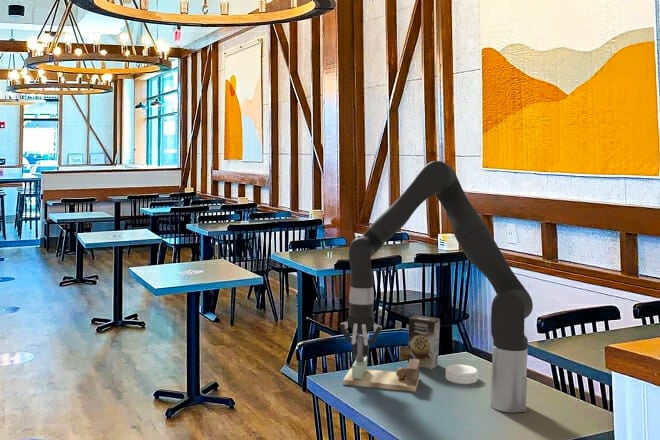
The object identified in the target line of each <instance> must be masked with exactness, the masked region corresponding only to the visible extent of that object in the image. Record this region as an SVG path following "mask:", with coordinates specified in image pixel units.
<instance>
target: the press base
mask: <svg viewBox="0 0 660 440" xmlns="http://www.w3.org/2000/svg"><path fill="white" fill-rule="evenodd" d="M419 380H420V367H419V359H410V360H409V363H408V362H407V366H406V367H405V366H404V367H403V366H401V367H397V369H396V371H388V370H377V369H368V368H367V370H366V372H365V374H364V376H363V378H362V379H355V378H352V367H350V368H349V370H348V371H347V372H346V374H345V376H344V378H343V379H342V385H345V386H353V387H354V386H355V387H362V388H363V387H364V388H374V389H386V390H393V391H405V392H415V393H416V391H417V387H418V384H419Z"/></svg>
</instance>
